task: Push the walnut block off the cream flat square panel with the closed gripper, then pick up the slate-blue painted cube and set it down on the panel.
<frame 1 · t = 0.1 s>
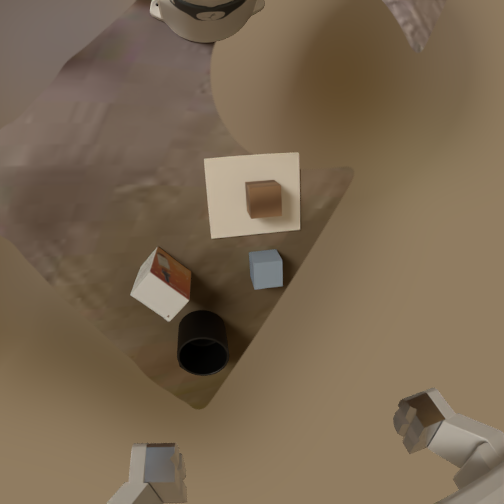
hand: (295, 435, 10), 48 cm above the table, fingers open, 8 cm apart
cream flat square panel: (254, 195, 55), on the table
cube: (263, 263, 61), on the table
mug: (197, 332, 65), on the table
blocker: (260, 195, 55), resting on cream flat square panel
small box: (165, 268, 58), on the table
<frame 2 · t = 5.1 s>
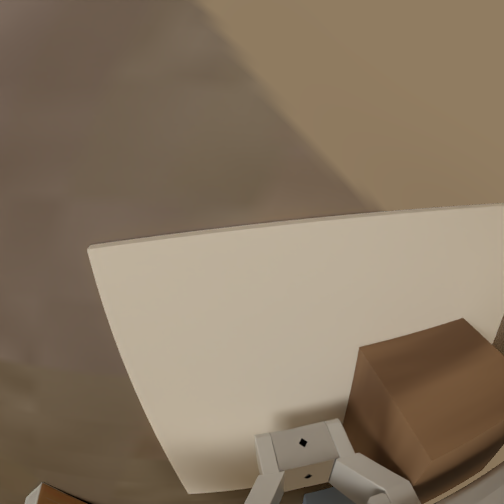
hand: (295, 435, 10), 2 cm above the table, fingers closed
cream flat square panel: (354, 385, 12), on the table
cube: (336, 496, 17), on the table
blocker: (403, 378, 12), resting on cream flat square panel, touching gripper
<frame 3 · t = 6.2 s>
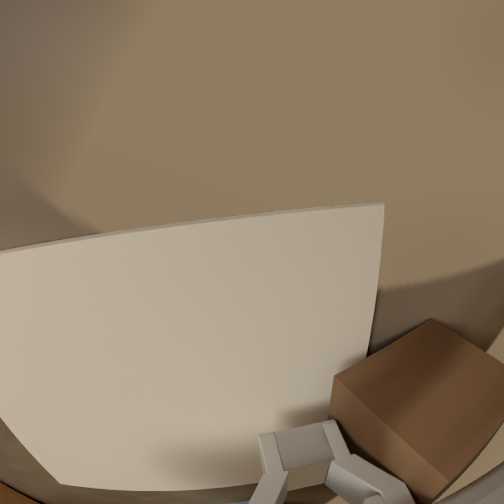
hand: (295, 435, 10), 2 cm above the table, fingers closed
cream flat square panel: (152, 410, 11), on the table
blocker: (377, 391, 11), point 1 cm above the table, tilted 17°, touching gripper
small box: (4, 489, 14), on the table
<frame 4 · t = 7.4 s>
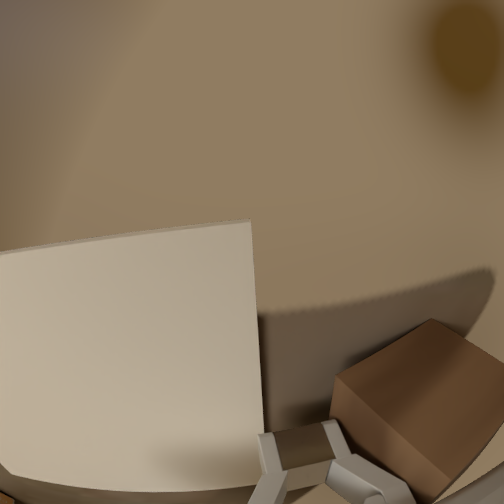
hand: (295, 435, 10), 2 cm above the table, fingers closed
cream flat square panel: (64, 411, 10), on the table
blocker: (378, 391, 11), point 1 cm above the table, tilted 17°, touching gripper
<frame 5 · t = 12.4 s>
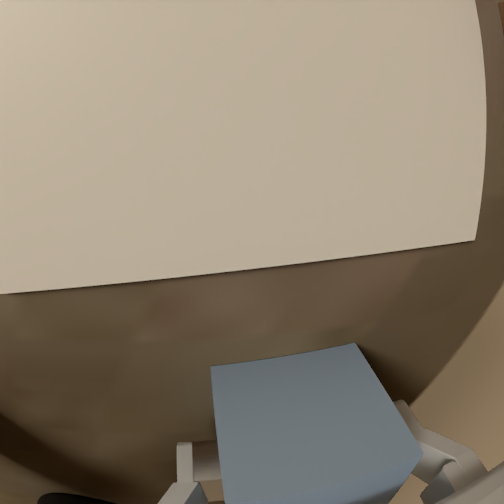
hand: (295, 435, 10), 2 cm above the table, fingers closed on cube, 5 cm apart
cream flat square panel: (234, 0, 6), on the table
cube: (285, 403, 11), on the table, touching gripper
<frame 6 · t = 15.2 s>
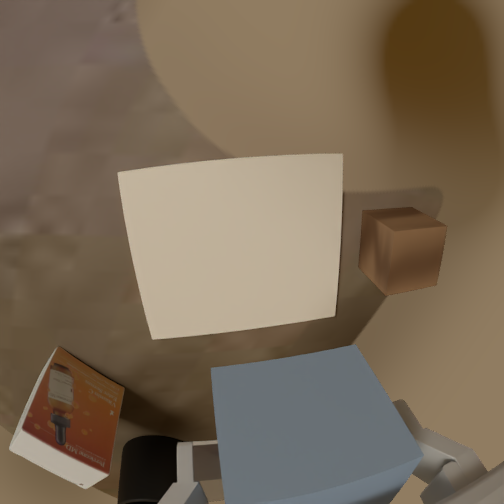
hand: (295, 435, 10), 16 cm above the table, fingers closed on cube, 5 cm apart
cream flat square panel: (239, 252, 24), on the table
cube: (285, 404, 11), point 15 cm above the table, touching gripper
mug: (154, 456, 34), on the table
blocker: (385, 236, 26), on the table
small box: (81, 378, 28), on the table
when the fingers open (3 cm above the table, at t = 17.8 s): cube drops 1 cm, resting on cream flat square panel.
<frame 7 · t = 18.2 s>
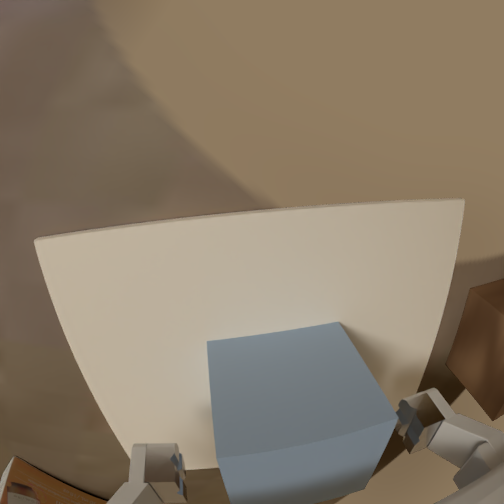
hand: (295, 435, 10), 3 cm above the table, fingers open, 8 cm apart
cream flat square panel: (275, 373, 13), on the table
cube: (275, 379, 13), resting on cream flat square panel
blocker: (485, 318, 15), on the table
small box: (52, 485, 16), on the table
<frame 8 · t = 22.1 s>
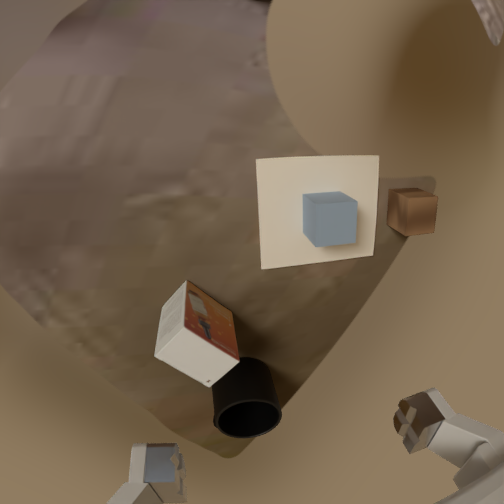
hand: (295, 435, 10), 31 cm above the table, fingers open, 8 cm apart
cream flat square panel: (321, 210, 40), on the table
cube: (321, 211, 40), resting on cream flat square panel
mug: (235, 381, 50), on the table
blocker: (401, 205, 42), on the table
small box: (196, 308, 43), on the table
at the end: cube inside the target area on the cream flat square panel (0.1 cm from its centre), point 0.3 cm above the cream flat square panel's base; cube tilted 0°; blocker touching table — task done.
